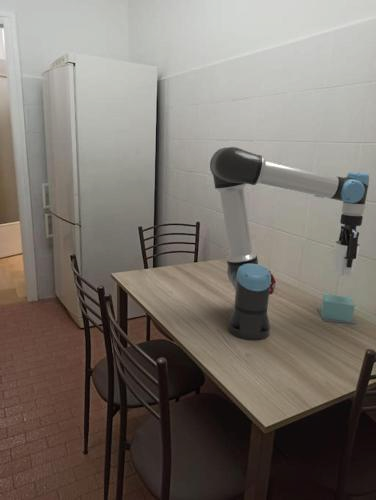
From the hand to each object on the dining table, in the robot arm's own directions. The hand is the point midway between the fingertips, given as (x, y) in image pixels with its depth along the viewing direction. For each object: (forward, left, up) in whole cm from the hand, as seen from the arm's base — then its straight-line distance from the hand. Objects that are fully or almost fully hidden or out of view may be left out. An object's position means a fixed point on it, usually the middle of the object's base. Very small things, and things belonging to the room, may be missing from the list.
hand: (342, 271), depth 142 cm
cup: (0, 0, -1) cm, 1 cm away
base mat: (0, 0, -19) cm, 19 cm away
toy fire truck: (+22, +28, -19) cm, 41 cm away
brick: (0, 0, -19) cm, 19 cm away
